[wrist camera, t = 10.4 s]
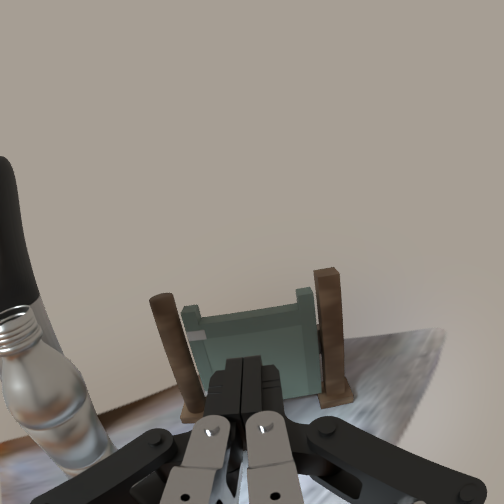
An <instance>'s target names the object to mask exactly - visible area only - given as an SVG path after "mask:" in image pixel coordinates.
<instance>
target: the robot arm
mask: <svg viewBox="0 0 504 504" xmlns="http://www.w3.org/2000/svg"><path fill="white" fill-rule="evenodd" d="M20 305H29V306H30V307H31V309H32V310H33V313H34V316H35V318H36V321H37V323H38V325H40V327H41V329H42V332H43V336H42V338H41V339H42V341H43V342H44V343H46V344H47V345H49V346H50V347H52V348H54V349H55V350H57V351H58V352H60V353H61V354H62V355H64V354H63V351H62V349H61V347H60V345H59V342H58V340H57V338H56V335H55V333H54V330H53V328H52V325H51V323H50V320H49V318H48V315H47V313H46V310H45V307H44V304H43V302H42V299H41V296H40V293H39V290H38V287H37V284H36V281H35V277H34V274H33V270H32V267H31V263H30V259H29V255H28V252H27V247H26V243H25V239H24V233H23V227H22V220H21V213H20V206H19V199H18V191H17V185H16V180H15V175H14V171H13V168H12V166H11V164H10V162H9V161H8V160H7V159H6V158H5V157H2V156H0V313H1V312H3V311H5V310H7V309H10V308H13V307H16V306H20ZM2 365H3V360H2V357H0V379H1V382H2ZM243 451H248V463H249V467H248V468H247V480H248V493H249V504H304V501H303V496H302V492H301V488H300V483H299V479H298V474H303V475H310V477H311V478H312V479H313V480H314V481H316V482H317V483H319V484H320V485H322V486H323V487H325V488H326V489H328V490H330V491H331V492H333V493H334V494H336V495H337V496H339V497H341V498H342V499H344V500H346V501H347V502H349V503H351V504H484V502H485V500H486V497H487V489H486V486H485V484H484V483H483V482H482V481H481V480H480V479H477V478H475V477H472V476H469V475H466V474H463V473H461V472H458V471H455V470H452V469H450V468H447V467H444V466H442V465H439V464H437V463H434V462H431V461H429V460H427V459H424V458H422V457H420V456H417V455H415V454H412V453H410V452H408V451H405V450H403V449H401V448H399V447H397V446H394V445H392V444H390V443H388V442H386V441H384V440H382V439H380V438H377V437H375V436H373V435H371V434H369V433H367V432H365V431H363V430H361V429H359V428H357V427H355V426H353V425H351V424H349V423H347V422H346V421H344V420H342V419H340V418H337V417H333V416H324V417H320V418H317V419H315V420H314V421H312V422H311V423H310V424H299V423H295V422H293V421H291V420H289V419H288V418H287V417H286V416H285V412H284V403H283V394H282V387H281V380H280V373H279V370H278V369H277V368H276V367H275V365H274V364H272V365H265V366H263V365H262V359H261V355H255V356H247V357H244V358H243V357H238V358H229V359H226V365H225V370H218V371H215V373H214V374H213V375H212V376H211V378H210V381H209V388H208V392H207V397H206V402H205V407H204V413H203V418H201V419H200V420H198V421H197V422H196V423H195V425H194V427H193V430H191V431H189V432H186V433H182V434H178V435H174V436H172V434H171V433H170V432H169V431H167V430H165V429H161V428H156V429H151V430H148V431H146V432H145V433H143V434H142V435H140V436H139V437H137V438H136V439H134V440H133V441H131V442H130V443H128V444H127V445H125V446H124V447H122V448H121V449H119V450H117V451H116V452H114V453H113V454H111V455H110V456H108V457H106V458H105V459H103V460H102V461H100V462H98V463H97V464H95V465H93V466H92V467H90V468H88V469H87V470H85V471H83V472H82V473H80V474H78V475H77V476H75V477H73V478H71V479H70V480H68V481H66V482H64V483H62V484H61V485H59V486H57V487H55V488H53V489H51V490H50V491H48V492H46V493H44V494H42V495H40V496H38V497H36V498H35V499H33V500H32V502H31V503H30V504H239V495H240V487H241V480H242V473H243V462H242V460H243ZM153 471H155V472H153ZM152 472H153V473H152ZM151 473H152V474H151ZM149 474H150V475H149ZM148 475H149V476H148ZM146 476H148V477H146ZM145 477H146V478H145ZM144 478H145V479H144ZM142 479H143V480H142ZM141 480H142V481H141ZM139 481H140V482H139ZM138 482H139V483H138ZM136 483H138V484H136ZM135 484H136V485H135ZM133 485H135V486H133ZM132 486H133V487H132Z"/></svg>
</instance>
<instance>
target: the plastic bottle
mask: <svg viewBox="0 0 504 504" xmlns="http://www.w3.org/2000/svg"><path fill="white" fill-rule="evenodd" d="M42 336H43V332H42V329H41V327H40V325H38V323H37V321H36V318H35V316H34V313H33V310H32V309H31V307H30V306H29V305H20V306H16V307H13V308H10V309H7V310H5V311H3V312H1V313H0V357H2V360H3V365H2V393H3V397H4V400H5V403H6V406H7V409H8V410H9V412H10V413H11V415H12V416H13V417H14V419H15V420H16V421H17V422H18V423H19V425H20V426H21V427H22V428H23V429H24V430H25V431H26V432H27V434H28V435H29V436H30V437H31V438H32V439H33V440H34V441H35V442H36V443H37V444H38V445H39V446H40V447H41V448H42V449H43V450H44V451H45V452H46V454H47V455H48V456H49V457H50V458H51V459H52V460H53V461H54V462H55V463H56V465H57V466H58V467H59V468H60V469H61V470H62V471H63V472H64V474H65V475H66V476H67V478H68V479H69V480H70V479H71V478H73V477H75V476H77V475H78V474H80V473H82V472H83V471H85V470H87V469H88V468H90V467H92V466H93V465H95V464H97V463H98V462H100V461H102V460H103V459H105V458H106V457H108V456H110V455H111V454H113V453H114V452H116V451H117V450H118V449H117V448H116V447H115V445H114V444H113V443H112V441H111V440H110V438H109V436H108V434H107V433H106V431H105V429H104V427H103V426H102V424H101V422H100V420H99V418H98V416H97V414H96V412H95V409H94V406H93V404H92V401H91V398H90V396H89V393H88V390H87V387H86V384H85V382H84V380H83V377H82V375H81V373H80V371H79V370H78V369H77V368H76V366H75V365H74V364H73V363H72V362H71V361H70V360H69V359H68V358H67V357H65V356H64V355H62V354H61V353H60V352H58V351H57V350H55V349H54V348H52V347H50V346H49V345H47V344H46V343H44V342H43V341H42V339H41V338H42ZM145 478H146V477H145ZM145 478H144V479H145ZM142 480H143V479H142ZM142 480H141V481H142ZM139 482H140V481H139ZM139 482H138V483H139ZM138 483H136V484H138ZM136 484H135V485H136ZM135 485H133V486H135ZM133 486H132V487H133Z"/></svg>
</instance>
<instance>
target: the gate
mask: <svg viewBox="0 0 504 504" xmlns="http://www.w3.org/2000/svg"><path fill="white" fill-rule="evenodd" d="M296 296H297V303H295V304H289V305H283V306H277V307H271V308H265V309H258V310H252V311H245V312H238V313H232V314H225V315H218V316H210V317H202V318H201V315H200V311H199V307H198V305H191V306H184V308H183V310H182V312H181V316H182V320H183V323H184V327H185V330H186V334H187V337H188V341H189V343H190V347H191V350H192V353H193V356H194V359H195V362H196V366H197V369H198V372H199V375H200V378H201V381H202V384H203V387H204V390H205V393H206V396H207V392H208V388H209V381H210V378H211V376H212V375H213V374H214V373H215V371H218V370H225V365H226V359H229V358H238V357H243V358H244V357H247V356H255V355H261V359H262V365H263V366H265V365H272V364H274V365H275V367H276V368H277V369H278V370H279V373H280V380H281V387H282V394H283V399H288V398H294V397H300V396H306V395H313V394H318V393H322V390H321V375H320V361H319V348H318V337H317V326H316V315H315V306H314V296H313V292H312V290H311V288H310V287H306V288H301V289H296Z"/></svg>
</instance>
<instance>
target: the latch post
mask: <svg viewBox="0 0 504 504" xmlns="http://www.w3.org/2000/svg"><path fill="white" fill-rule="evenodd" d="M314 280H315V289H316V298H317V309H318V319H319V324H317V325H316V326H317V337H318V348H319V354H321V355H322V369H323V382H321V390H322V393H318V394H317V395H318V399H319V403H320V406H321V409H324V408H329V407H334V406H339V405H343V404H347V403H352V402H353V394H352V391H351V389H350V386H349V384H348V381H347V379H346V377H344V338H343V317H342V302H341V301H342V300H341V287H340V274H339V272H338V271H337V270H336V269H335V268H334V267H331V268H326V269H320V270H314Z"/></svg>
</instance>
